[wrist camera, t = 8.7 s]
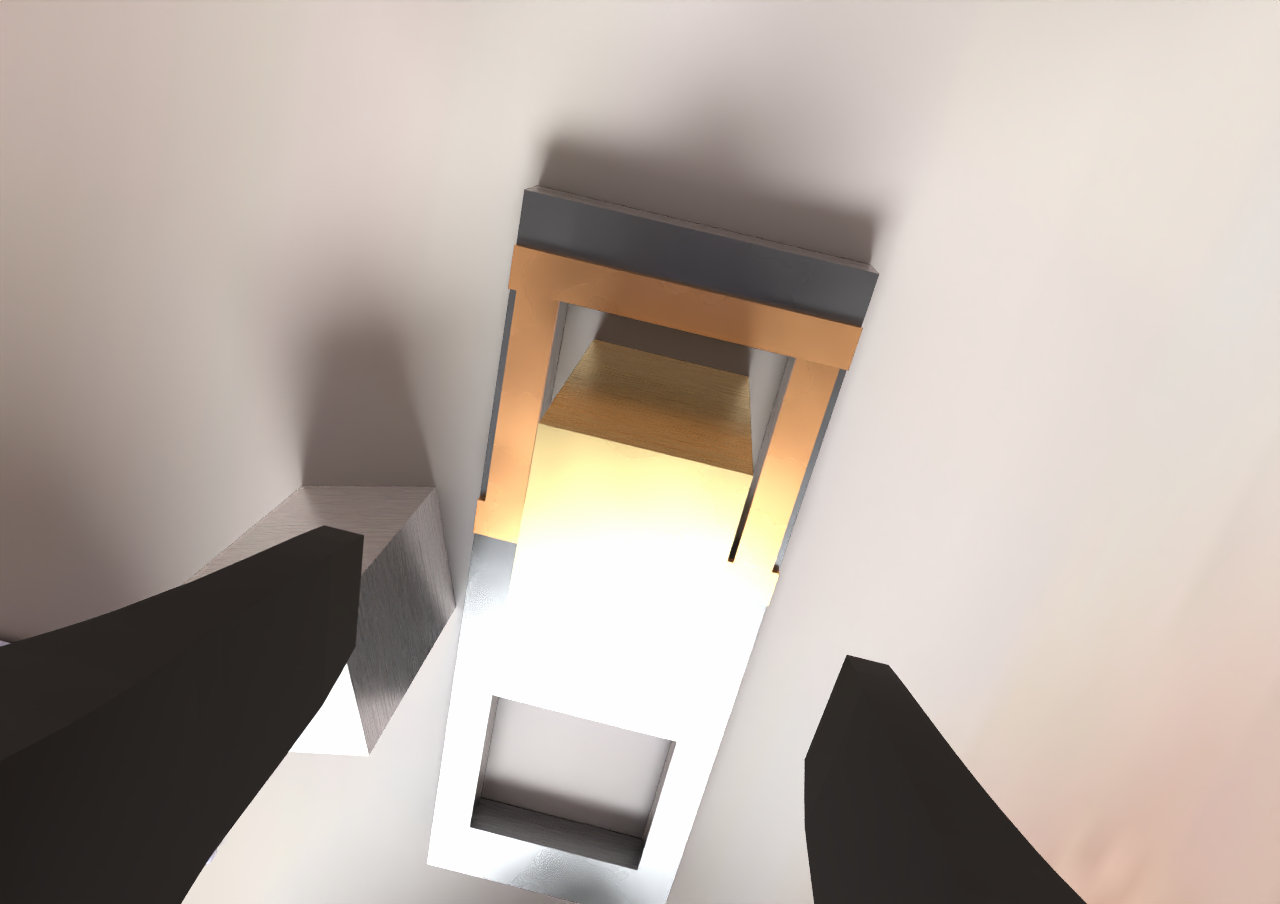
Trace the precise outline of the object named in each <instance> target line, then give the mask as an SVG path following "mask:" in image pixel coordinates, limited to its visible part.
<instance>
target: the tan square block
mask: <svg viewBox="0 0 1280 904" xmlns="http://www.w3.org/2000/svg"><path fill="white" fill-rule="evenodd" d="M752 478H753V460H752V439H751V417H750V396H749V377H748V376H743V375H739V374H735V373H731V372H727V371H723V370H719V369H715V368H710V367H706V366H702V365H698V364H694V363H690V362H686V361H682V360H678V359H673V358H669V357H665V356H661V355H657V354H653V353H649V352H645V351H640V350H636V349H632V348H628V347H624V346H620V345H616V344H612V343H607V342H603V341H599V340H595V339H594V340H593V342H592V343H591V345H590V346H589V348H588V349H587V351H586V352H585V354H584V355H583V357H582V358H581V360H580V361H579V363H578V364H577V366H576V367H575V369H574V370H573V372H572V373H571V375H570V376H569V378H568V379H567V381H566V382H565V384H564V385H563V387H562V388H561V390H560V391H559V393H558V394H557V396H556V397H555V399H554V400H553V402H552V403H551V405H550V406H549V408H548V409H547V411H546V412H545V414H544V415H543V417H542V418H541V420H540V421H539V423H538V428H537V434H536V440H535V445H534V451H533V457H532V463H531V468H530V474H529V480H528V486H527V492H526V497H525V503H524V509H523V515H522V520H521V526H520V532H519V538H518V544H517V549H516V555H515V561H514V567H513V573H512V578H511V584H510V590H509V596H508V601H507V602H508V603H512V604H516V605H520V606H524V607H528V608H532V609H536V610H540V611H544V612H548V613H552V614H556V615H560V616H564V617H568V618H572V619H576V620H580V621H584V622H588V623H592V624H596V625H600V626H604V627H608V628H612V629H616V630H620V631H624V632H628V633H632V634H636V635H640V636H644V637H648V638H652V639H656V640H660V641H664V642H668V643H672V644H676V645H680V646H684V647H688V648H692V649H696V650H700V648H701V645H702V642H703V638H704V635H705V632H706V629H707V625H708V622H709V619H710V615H711V612H712V609H713V606H714V602H715V599H716V596H717V593H718V589H719V586H720V583H721V580H722V576H723V573H724V570H725V566H726V563H727V560H728V557H729V553H730V550H731V547H732V544H733V540H734V537H735V534H736V530H737V527H738V524H739V521H740V517H741V514H742V511H743V508H744V504H745V501H746V498H747V495H748V491H749V488H750V485H751V481H752Z"/></svg>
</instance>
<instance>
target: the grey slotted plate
mask: <svg viewBox="0 0 1280 904" xmlns="http://www.w3.org/2000/svg"><path fill="white" fill-rule="evenodd" d="M878 276H879V273H878V272H877V271H876V270H875V269H874V268H873V267H872V266H871V265H870V264H866V263H861V262H857V261H853V260H849V259H844V258H840V257H836V256H832V255H828V254H823V253H819V252H815V251H811V250H807V249H802V248H798V247H794V246H790V245H786V244H781V243H777V242H773V241H769V240H764V239H760V238H756V237H752V236H748V235H743V234H739V233H735V232H731V231H727V230H722V229H718V228H714V227H710V226H706V225H701V224H697V223H693V222H689V221H685V220H680V219H676V218H672V217H668V216H663V215H659V214H655V213H651V212H647V211H642V210H638V209H634V208H630V207H626V206H621V205H617V204H613V203H609V202H605V201H600V200H596V199H592V198H588V197H583V196H579V195H575V194H571V193H567V192H562V191H558V190H554V189H550V188H546V187H541V186H534V187H531V188H528V189H524V196H523V203H522V210H521V217H520V224H519V231H518V238H517V244H515V245H514V251H513V258H512V265H511V272H510V279H509V285H508V289H510V293H509V300H508V307H507V314H506V321H505V328H504V335H503V342H502V348H501V355H500V362H499V369H498V376H497V383H496V390H495V397H494V404H493V411H492V418H491V425H490V431H489V438H488V445H487V452H486V459H485V466H484V473H483V480H482V487H481V494H480V497H479V499H478V502H477V509H476V516H475V522H474V529H473V533H475V535H474V542H473V549H472V556H471V563H470V570H469V577H468V584H467V591H466V597H465V604H464V611H463V618H462V625H461V632H460V639H459V646H458V653H457V660H456V667H455V674H454V680H453V687H452V694H451V701H450V708H449V715H448V722H447V729H446V736H445V743H444V750H443V757H442V763H441V770H440V777H439V784H438V791H437V798H436V805H435V812H434V819H433V826H432V833H431V840H430V846H429V853H428V860H427V864H429V865H433V866H437V867H440V868H444V869H448V870H452V871H456V872H460V873H464V874H468V875H471V876H475V877H479V878H483V879H487V880H491V881H495V882H498V883H502V884H506V885H510V886H514V887H518V888H522V889H526V890H529V891H533V892H537V893H541V894H545V895H549V896H553V897H556V898H560V899H564V900H568V901H572V902H576V903H580V904H666V901H667V899H668V896H669V893H670V890H671V887H672V884H673V881H674V878H675V875H676V872H677V869H678V866H679V863H680V860H681V857H682V854H683V851H684V848H685V845H686V842H687V840H688V837H689V834H690V831H691V828H692V825H693V822H694V819H695V816H696V813H697V810H698V807H699V804H700V801H701V798H702V795H703V792H704V789H705V786H706V783H707V780H708V778H709V775H710V772H711V769H712V766H713V763H714V760H715V757H716V754H717V751H718V748H719V745H720V742H721V739H722V736H723V733H724V730H725V727H726V724H727V721H728V719H729V716H730V713H731V710H732V707H733V704H734V701H735V698H736V695H737V692H738V689H739V686H740V683H741V680H742V677H743V674H744V671H745V668H746V665H747V662H748V660H749V657H750V654H751V651H752V648H753V645H754V642H755V639H756V636H757V633H758V630H759V627H760V624H761V621H762V618H763V615H764V612H765V609H766V606H769V603H770V600H771V597H772V594H773V591H774V588H775V585H776V582H777V579H778V576H779V568H780V565H781V562H782V559H783V556H784V553H785V550H786V547H787V544H788V541H789V539H790V536H791V533H792V530H793V527H794V524H795V521H796V518H797V515H798V512H799V509H800V506H801V503H802V500H803V497H804V494H805V491H806V488H807V485H808V482H809V479H810V477H811V474H812V471H813V468H814V465H815V462H816V459H817V456H818V453H819V450H820V447H821V444H822V441H823V438H824V435H825V432H826V429H827V426H828V423H829V420H830V418H831V415H832V412H833V409H834V406H835V403H836V400H837V397H838V394H839V391H840V388H841V385H842V382H843V379H844V376H845V373H846V370H849V367H850V364H851V361H852V359H853V356H854V353H855V350H856V347H857V344H858V341H859V338H860V335H861V332H862V329H863V328H862V327H861V326H862V323H863V320H864V317H865V314H866V311H867V308H868V305H869V302H870V299H871V297H872V294H873V291H874V288H875V285H876V282H877V279H878ZM568 303H570V304H574V305H578V306H582V307H587V308H591V309H595V310H599V311H603V312H607V313H611V314H616V315H620V316H624V317H628V318H632V319H636V320H641V321H645V322H649V323H653V324H657V325H661V326H665V327H670V328H674V329H678V330H682V331H686V332H690V333H695V334H699V335H703V336H707V337H711V338H715V339H719V340H724V341H728V342H732V343H736V344H740V345H744V346H749V347H753V348H757V349H761V350H765V351H769V352H773V353H778V354H782V355H786V356H789V357H788V360H787V363H786V367H785V370H784V373H783V377H782V380H781V383H780V386H779V390H778V393H777V396H776V400H775V403H774V406H773V409H772V413H771V416H770V419H769V423H768V426H767V429H766V432H765V436H764V439H763V442H762V446H761V449H760V452H759V455H758V459H757V462H756V465H755V469H754V472H753V478H752V481H751V485H750V488H749V491H748V495H747V498H746V501H745V504H744V508H743V511H742V514H741V517H740V521H739V524H738V527H737V530H736V534H735V537H734V540H733V544H732V547H731V550H730V553H729V557H728V560H727V563H726V566H725V570H724V573H723V576H722V580H721V583H720V586H719V589H718V593H717V596H716V599H715V602H714V606H713V609H712V612H711V615H710V619H709V622H708V625H707V629H706V632H705V635H704V638H703V642H702V645H701V648H700V650H696V649H692V648H688V647H684V646H680V645H676V644H672V643H668V642H664V641H660V640H656V639H652V638H648V637H644V636H640V635H636V634H632V633H628V632H624V631H620V630H616V629H612V628H608V627H604V626H600V625H596V624H592V623H588V622H584V621H580V620H576V619H572V618H568V617H564V616H560V615H556V614H552V613H548V612H544V611H540V610H536V609H532V608H528V607H524V606H520V605H516V604H512V603H508V602H507V601H508V596H509V590H510V584H511V578H512V573H513V567H514V561H515V555H516V549H517V544H518V538H519V532H520V526H521V520H522V515H523V509H524V503H525V497H526V492H527V486H528V480H529V474H530V468H531V463H532V457H533V451H534V445H535V440H536V434H537V428H538V423H539V421H540V420H541V418H542V417H543V415H544V414H545V412H546V411H547V409H548V408H549V406H550V403H551V398H552V392H553V386H554V381H555V375H556V369H557V364H558V358H559V352H560V347H561V341H562V335H563V330H564V324H565V318H566V313H567V307H568ZM498 697H503V698H507V699H510V700H514V701H518V702H522V703H526V704H530V705H534V706H538V707H542V708H546V709H550V710H554V711H558V712H562V713H566V714H570V715H574V716H578V717H582V718H586V719H589V720H593V721H597V722H601V723H605V724H609V725H613V726H617V727H621V728H625V729H629V730H633V731H637V732H641V733H645V734H649V735H653V736H657V737H661V738H665V739H669V740H672V741H671V745H670V748H669V751H668V755H667V758H666V761H665V764H664V768H663V771H662V774H661V778H660V781H659V784H658V787H657V791H656V794H655V797H654V801H653V804H652V807H651V811H650V814H649V817H648V820H647V824H646V827H645V830H644V834H643V837H642V839H640V838H636V837H632V836H628V835H624V834H620V833H616V832H612V831H609V830H605V829H601V828H597V827H593V826H589V825H585V824H581V823H577V822H573V821H570V820H566V819H562V818H558V817H554V816H550V815H546V814H542V813H538V812H534V811H530V810H527V809H523V808H519V807H515V806H511V805H507V804H503V803H499V802H495V801H491V800H488V799H484V798H481V793H482V788H483V782H484V776H485V771H486V765H487V759H488V754H489V748H490V742H491V737H492V731H493V725H494V720H495V714H496V708H497V703H498Z"/></svg>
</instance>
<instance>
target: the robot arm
mask: <svg viewBox="0 0 1280 904" xmlns="http://www.w3.org/2000/svg"><path fill="white" fill-rule="evenodd" d="M363 545H364V535H362V534H358V533H354V532H349V531H345V530H341V529H337V528H333V527H329V526H325V525H324V526H321V527H318V528H315V529H313V530H310V531H308V532H305V533H303V534H300V535H298V536H296V537H293V538H291V539H289V540H286V541H284V542H282V543H280V544H277V545H275V546H273V547H271V548H268V549H266V550H264V551H261V552H259V553H257V554H255V555H252V556H250V557H248V558H245V559H243V560H241V561H239V562H236V563H234V564H232V565H229V566H227V567H225V568H222V569H220V570H218V571H215V572H213V573H211V574H208V575H206V576H204V577H201V578H199V579H196V580H194V581H192V582H189V583H186V584H184V585H181V586H179V587H176V588H173V589H171V590H168V591H165V592H163V593H160V594H158V595H155V596H152V597H150V598H147V599H145V600H142V601H139V602H137V603H134V604H132V605H129V606H126V607H124V608H121V609H119V610H116V611H113V612H110V613H107V614H104V615H101V616H99V617H96V618H93V619H90V620H86V621H83V622H80V623H77V624H74V625H71V626H68V627H65V628H61V629H58V630H55V631H51V632H48V633H45V634H41V635H38V636H35V637H32V638H28V639H25V640H21V641H18V642H14V643H8V642H4V641H0V904H181V903H182V901H183V900H184V898H185V896H186V895H187V893H188V891H189V890H190V888H191V887H192V885H193V883H194V882H195V880H196V878H197V877H198V875H199V874H200V872H201V870H202V869H203V868H204V866H205V865H206V864H209V863H210V862H211V861H212V859H213V858H214V857H215V855H216V852H217V847H218V846H219V844H220V843H221V841H222V840H223V839H224V837H225V836H226V835H227V833H228V832H229V831H230V829H231V828H232V827H233V825H234V824H235V823H236V821H237V820H238V819H239V817H240V816H241V815H242V813H243V812H244V811H245V809H246V808H247V807H248V805H249V804H250V803H251V801H252V800H253V799H254V797H255V796H256V795H257V793H258V792H259V791H260V789H261V788H262V787H263V785H264V784H265V783H266V781H267V780H268V779H269V777H270V776H271V775H272V773H273V772H274V771H275V769H276V768H277V767H278V765H279V764H280V763H281V761H282V760H283V759H284V757H285V756H286V755H287V753H288V752H289V751H290V749H291V748H292V747H293V745H294V744H295V743H296V741H297V740H298V738H299V737H300V736H301V734H302V733H303V732H304V730H305V729H306V728H307V726H308V725H309V724H310V722H311V721H312V719H313V718H314V717H315V715H316V714H317V713H318V711H319V710H320V708H321V707H322V706H323V704H324V702H325V700H326V699H327V697H328V695H329V694H330V692H331V690H332V688H333V687H334V685H335V683H336V682H337V680H338V678H339V676H340V674H341V673H342V671H343V669H344V667H345V665H346V663H347V662H348V660H349V658H350V656H351V654H352V652H353V651H354V649H355V647H356V635H357V622H358V609H359V596H360V583H361V571H362V558H363ZM804 804H805V833H806V842H807V850H808V858H809V866H810V874H811V882H812V890H813V897H814V904H1087V903H1086V902H1085V901H1084V900H1083V899H1082V898H1081V897H1080V896H1079V895H1078V894H1077V893H1076V892H1075V891H1074V890H1073V889H1072V888H1071V887H1070V886H1069V885H1068V884H1067V883H1066V882H1065V881H1064V880H1063V879H1062V878H1061V877H1060V876H1059V875H1058V874H1057V873H1056V872H1055V871H1054V869H1053V868H1052V867H1051V866H1050V865H1049V864H1048V863H1047V862H1046V861H1045V860H1044V859H1043V858H1042V856H1041V855H1040V854H1039V853H1038V852H1037V851H1036V850H1035V849H1034V848H1033V846H1032V845H1031V844H1030V843H1029V842H1028V841H1027V840H1026V838H1025V837H1024V836H1023V835H1022V834H1021V833H1020V831H1019V830H1018V829H1017V828H1016V827H1015V826H1014V824H1013V823H1012V822H1011V821H1010V820H1009V819H1008V818H1007V816H1006V815H1005V814H1004V813H1003V812H1002V811H1001V809H1000V808H999V807H998V806H997V805H996V803H995V802H994V801H993V800H992V798H991V797H990V796H989V795H988V794H987V792H986V791H985V790H984V789H983V787H982V786H981V785H980V784H979V783H978V781H977V780H976V779H975V777H974V776H973V775H972V774H971V772H970V771H969V770H968V769H967V767H966V766H965V765H964V763H963V762H962V761H961V760H960V758H959V757H958V756H957V754H956V753H955V752H954V751H953V749H952V748H951V747H950V745H949V744H948V743H947V741H946V740H945V739H944V737H943V736H942V735H941V733H940V732H939V731H938V729H937V728H936V727H935V725H934V724H933V723H932V721H931V720H930V719H929V717H928V716H927V715H926V713H925V712H924V711H923V709H922V708H921V707H920V705H919V704H918V703H917V701H916V700H915V699H914V697H913V696H912V695H911V693H910V692H909V691H908V689H907V688H906V687H905V685H904V684H903V683H902V681H901V680H900V679H899V678H898V676H897V675H896V674H895V673H894V671H893V670H892V669H891V668H890V666H889V665H886V664H882V663H878V662H874V661H870V660H866V659H862V658H858V657H854V656H850V655H847V656H846V658H845V661H844V663H843V666H842V668H841V671H840V673H839V676H838V678H837V680H836V683H835V685H834V688H833V690H832V693H831V695H830V698H829V700H828V703H827V705H826V708H825V710H824V713H823V715H822V718H821V720H820V723H819V725H818V728H817V730H816V733H815V735H814V738H813V740H812V743H811V745H810V748H809V750H808V753H807V755H806V758H805V785H804Z"/></svg>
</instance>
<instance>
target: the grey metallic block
mask: <svg viewBox="0 0 1280 904" xmlns="http://www.w3.org/2000/svg"><path fill="white" fill-rule="evenodd" d="M324 525H325V526H329V527H333V528H337V529H341V530H345V531H349V532H354V533H358V534H362V535H364V545H363V558H362V571H361V583H360V596H359V609H358V622H357V635H356V647H355V649H354V651H353V652H352V654H351V656H350V658H349V660H348V662H347V663H346V665H345V667H344V669H343V671H342V673H341V674H340V676H339V678H338V680H337V682H336V683H335V685H334V687H333V688H332V690H331V692H330V694H329V695H328V697H327V699H326V700H325V702H324V704H323V706H322V707H321V708H320V710H319V711H318V713H317V714H316V715H315V717H314V718H313V719H312V721H311V722H310V724H309V725H308V726H307V728H306V729H305V730H304V732H303V733H302V734H301V736H300V737H299V738H298V740H297V741H296V743H295V744H294V745H293V747H292V748H291V749H290V751H289V752H307V753H326V754H345V755H364V756H369V754H370V752H371V751H372V749H373V747H374V746H375V744H376V742H377V741H378V739H379V737H380V735H381V734H382V732H383V730H384V729H385V727H386V725H387V724H388V722H389V720H390V718H391V717H392V715H393V713H394V712H395V710H396V708H397V706H398V705H399V703H400V701H401V700H402V698H403V696H404V695H405V693H406V691H407V689H408V688H409V686H410V684H411V683H412V681H413V679H414V677H415V676H416V674H417V672H418V671H419V669H420V667H421V666H422V664H423V662H424V660H425V659H426V657H427V655H428V654H429V652H430V650H431V648H432V647H433V645H434V643H435V642H436V640H437V638H438V637H439V635H440V633H441V631H442V630H443V628H444V626H445V625H446V623H447V621H448V619H449V618H450V616H451V614H452V613H453V611H454V609H455V608H456V606H455V600H454V594H453V588H452V582H451V576H450V569H449V563H448V557H447V551H446V545H445V539H444V533H443V527H442V521H441V515H440V509H439V503H438V497H437V491H436V487H427V486H301V487H300V488H299V489H298V490H296V491H295V492H294V493H293V494H291V495H290V496H289V497H288V498H287V499H285V500H284V501H283V502H282V503H281V504H279V505H278V506H277V507H276V508H275V509H273V510H272V511H271V512H270V513H268V514H267V515H266V516H265V517H264V518H262V519H261V520H260V521H259V522H258V523H256V524H255V525H254V526H253V527H252V528H250V529H249V530H248V531H247V532H246V533H244V534H243V535H242V536H241V537H239V538H238V539H237V540H236V541H235V542H233V543H232V544H231V545H230V546H229V547H227V548H226V549H225V550H224V551H223V552H221V553H220V554H219V555H218V556H216V557H215V558H214V559H213V560H212V561H210V562H209V563H208V564H207V565H206V566H204V567H203V568H202V569H201V570H200V571H198V572H197V573H196V574H195V575H193V576H192V577H191V578H190V579H189V580H187V581H186V582H185V583H184V584H186V583H189V582H192V581H194V580H196V579H199V578H201V577H204V576H206V575H208V574H211V573H213V572H215V571H218V570H220V569H222V568H225V567H227V566H229V565H232V564H234V563H236V562H239V561H241V560H243V559H245V558H248V557H250V556H252V555H255V554H257V553H259V552H261V551H264V550H266V549H268V548H271V547H273V546H275V545H277V544H280V543H282V542H284V541H286V540H289V539H291V538H293V537H296V536H298V535H300V534H303V533H305V532H308V531H310V530H313V529H315V528H318V527H321V526H324ZM184 584H183V585H184Z"/></svg>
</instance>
